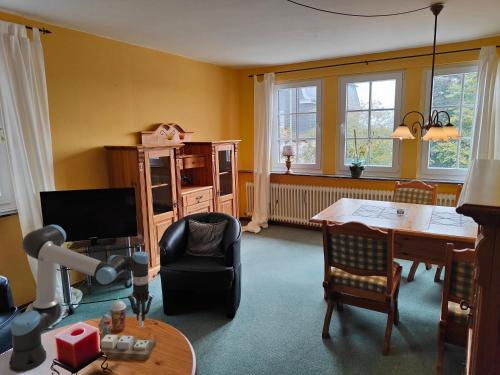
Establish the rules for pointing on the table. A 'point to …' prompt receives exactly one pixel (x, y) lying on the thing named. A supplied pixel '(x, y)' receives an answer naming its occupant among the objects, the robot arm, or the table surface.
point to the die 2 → (125, 342)
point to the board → (130, 351)
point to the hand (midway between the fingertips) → (141, 326)
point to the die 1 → (109, 341)
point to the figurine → (105, 325)
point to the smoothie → (118, 315)
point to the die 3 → (141, 345)
